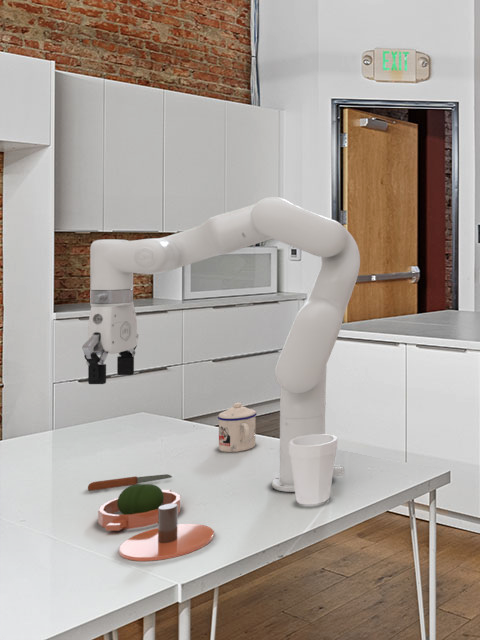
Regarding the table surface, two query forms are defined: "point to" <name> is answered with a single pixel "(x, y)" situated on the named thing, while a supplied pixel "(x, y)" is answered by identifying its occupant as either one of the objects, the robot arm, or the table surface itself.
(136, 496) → the avocado
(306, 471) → the foam cup
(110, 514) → the pot
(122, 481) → the kitchen knife
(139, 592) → the table surface
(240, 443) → the teacup with lid
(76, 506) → the table surface
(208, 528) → the lid
